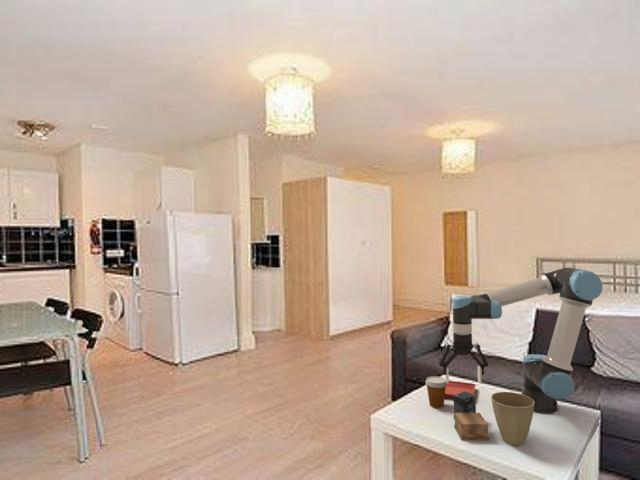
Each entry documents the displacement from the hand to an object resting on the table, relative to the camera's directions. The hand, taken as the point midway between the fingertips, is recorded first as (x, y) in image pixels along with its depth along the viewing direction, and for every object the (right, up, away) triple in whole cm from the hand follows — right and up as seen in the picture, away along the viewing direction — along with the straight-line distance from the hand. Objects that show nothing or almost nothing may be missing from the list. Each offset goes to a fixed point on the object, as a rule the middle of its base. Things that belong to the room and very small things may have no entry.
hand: (463, 382), depth 171 cm
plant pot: (+13, -16, -18) cm, 27 cm away
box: (+1, -16, 0) cm, 16 cm away
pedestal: (-1, -16, -12) cm, 20 cm away
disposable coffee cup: (-7, -16, +15) cm, 23 cm away
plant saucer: (+6, -16, +28) cm, 33 cm away
